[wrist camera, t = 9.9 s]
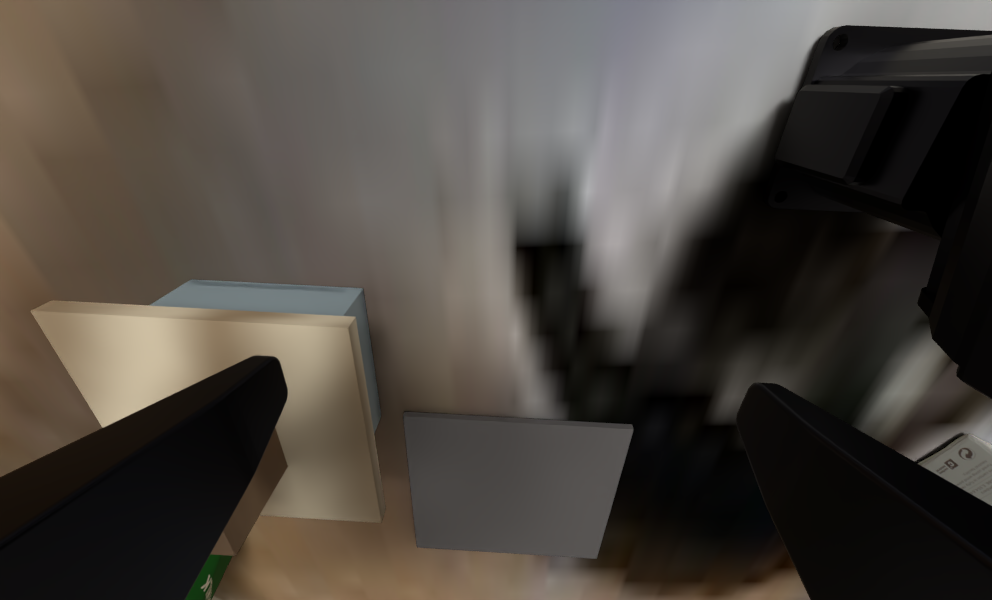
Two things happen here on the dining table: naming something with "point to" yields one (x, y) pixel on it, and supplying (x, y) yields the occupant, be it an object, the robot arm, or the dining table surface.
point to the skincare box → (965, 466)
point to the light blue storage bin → (284, 310)
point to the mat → (513, 482)
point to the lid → (214, 347)
